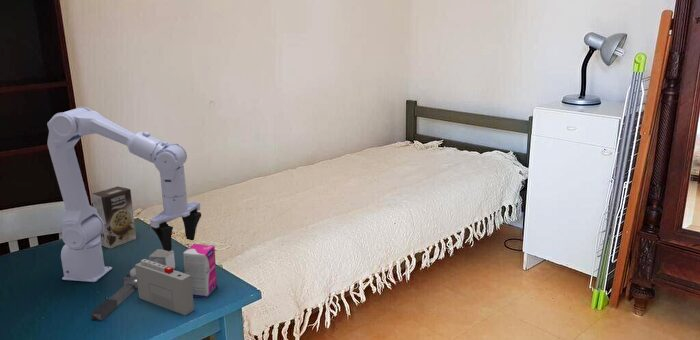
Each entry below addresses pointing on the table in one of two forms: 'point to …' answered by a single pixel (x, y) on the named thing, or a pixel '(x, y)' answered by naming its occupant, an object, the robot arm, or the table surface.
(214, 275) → the supplement box
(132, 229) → the cookie box
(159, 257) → the brushed metal cube
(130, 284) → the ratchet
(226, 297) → the table surface
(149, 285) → the cassette player
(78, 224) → the robot arm
